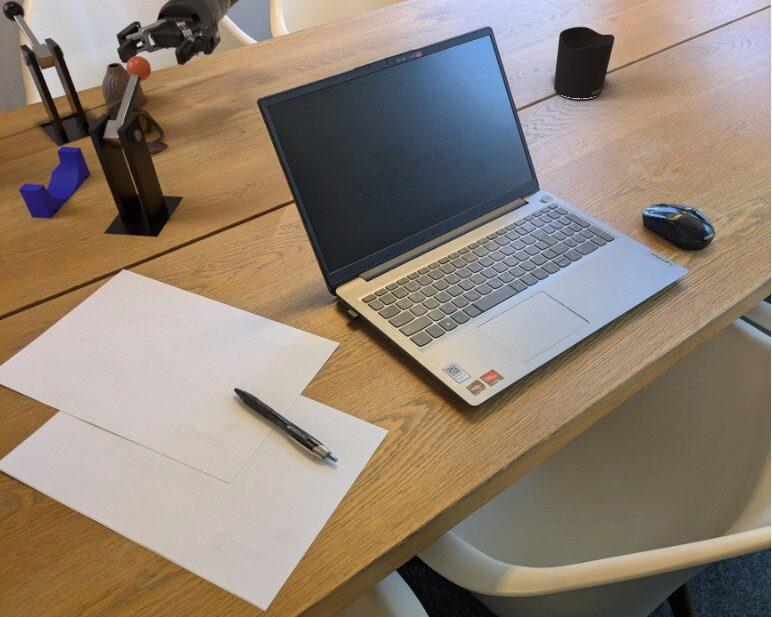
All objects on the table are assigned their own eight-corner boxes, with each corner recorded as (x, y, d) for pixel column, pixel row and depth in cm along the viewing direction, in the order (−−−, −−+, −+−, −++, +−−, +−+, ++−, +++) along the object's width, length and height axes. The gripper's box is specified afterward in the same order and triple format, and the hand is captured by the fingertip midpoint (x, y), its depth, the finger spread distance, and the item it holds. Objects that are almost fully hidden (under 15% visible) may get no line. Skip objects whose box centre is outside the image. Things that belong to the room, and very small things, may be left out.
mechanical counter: (160, 94, 115) (98, 92, 111) (168, 118, 106) (100, 117, 102) (162, 134, 119) (102, 133, 115) (170, 161, 109) (105, 161, 106)
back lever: (2, 15, 111) (-4, -1, 108) (21, 10, 112) (16, -6, 109) (39, 72, 107) (35, 57, 105) (59, 67, 109) (55, 52, 106)
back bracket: (42, 132, 118) (4, 43, 107) (86, 117, 121) (53, 30, 111) (61, 153, 112) (23, 61, 101) (106, 137, 115) (74, 47, 105)
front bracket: (136, 201, 100) (102, 103, 90) (185, 204, 99) (157, 105, 89) (106, 240, 93) (65, 139, 82) (159, 244, 92) (125, 142, 81)
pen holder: (557, 103, 119) (566, 48, 112) (546, 81, 126) (554, 27, 119) (609, 101, 119) (621, 45, 112) (595, 78, 126) (606, 25, 119)
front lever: (136, 67, 93) (125, 50, 90) (157, 68, 93) (147, 51, 90) (109, 150, 88) (97, 135, 85) (131, 151, 87) (120, 136, 85)
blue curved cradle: (67, 179, 106) (53, 146, 101) (93, 181, 105) (80, 147, 101) (26, 223, 97) (9, 188, 93) (54, 225, 96) (38, 190, 92)
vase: (112, 105, 125) (96, 59, 119) (149, 101, 125) (135, 55, 120) (107, 122, 120) (91, 75, 114) (146, 117, 120) (132, 71, 115)
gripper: (142, -9, 104) (94, 29, 92) (229, -8, 102) (191, 31, 90) (155, 39, 109) (111, 81, 97) (238, 41, 107) (203, 84, 95)
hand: (150, 57), depth 94 cm, fingers open, 8 cm apart
